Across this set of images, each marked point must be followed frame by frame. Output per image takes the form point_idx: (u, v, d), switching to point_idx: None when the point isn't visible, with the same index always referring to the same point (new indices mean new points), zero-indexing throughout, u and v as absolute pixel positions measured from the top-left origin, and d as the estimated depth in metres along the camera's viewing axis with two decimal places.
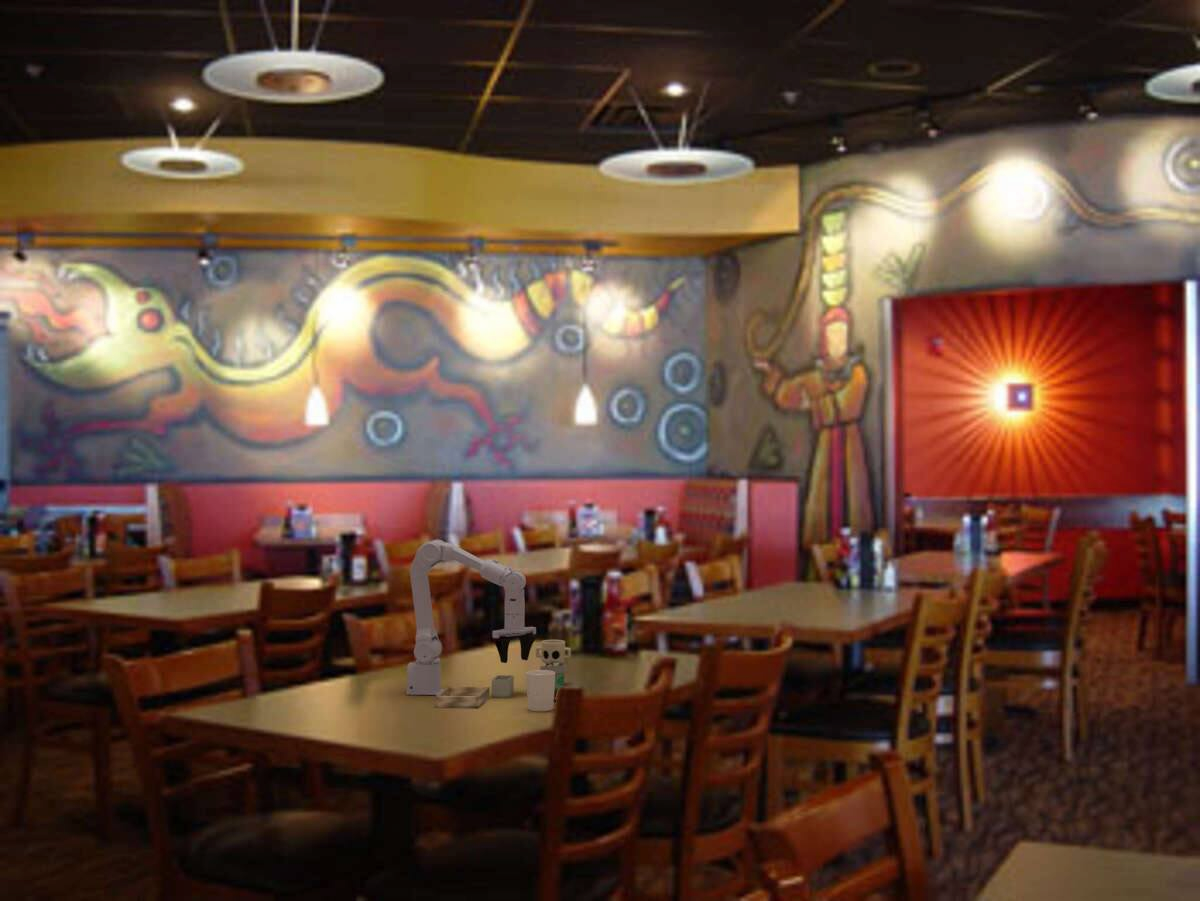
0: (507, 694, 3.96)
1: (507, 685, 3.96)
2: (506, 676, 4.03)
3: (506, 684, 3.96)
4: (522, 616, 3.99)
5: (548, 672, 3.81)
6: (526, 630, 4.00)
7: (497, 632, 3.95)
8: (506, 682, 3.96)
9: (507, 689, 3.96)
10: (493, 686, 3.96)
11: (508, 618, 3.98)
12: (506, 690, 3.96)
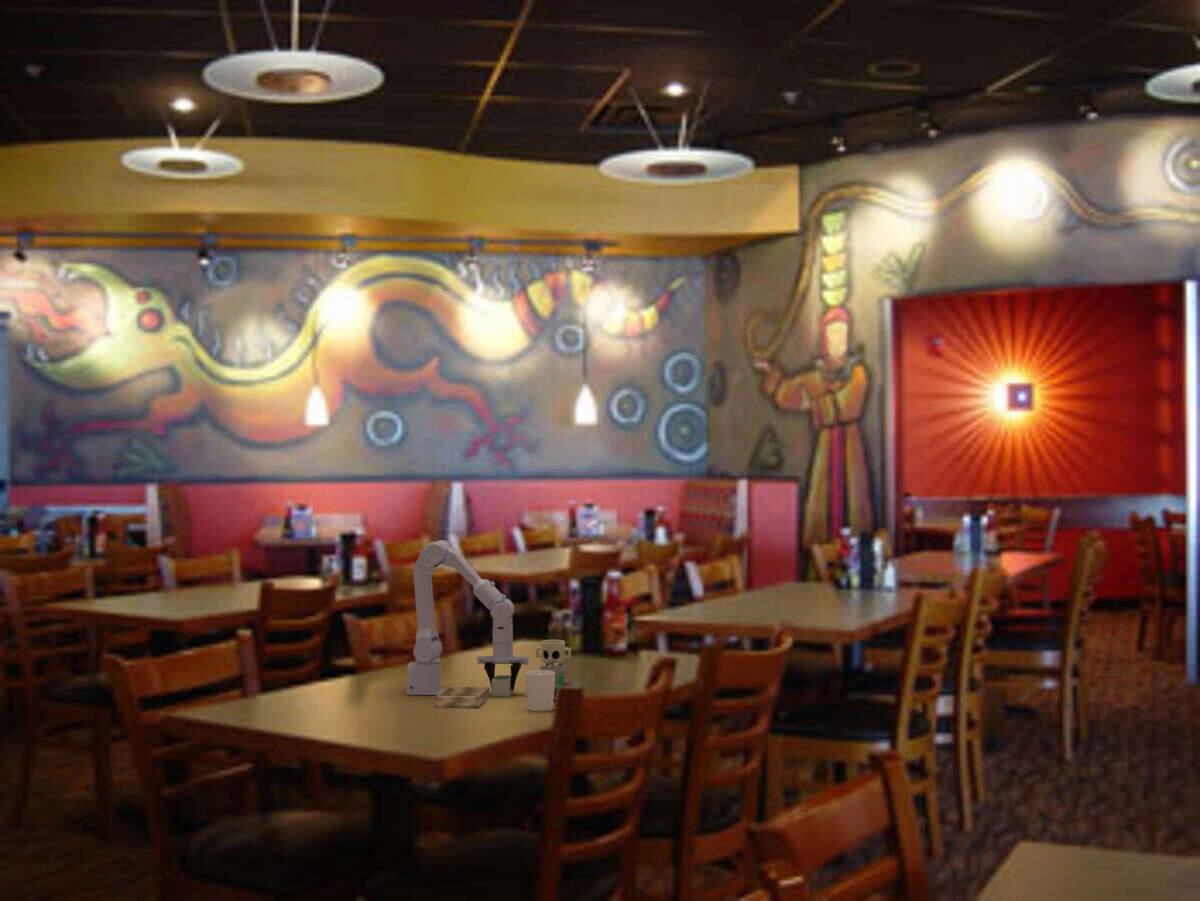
0: (507, 694, 3.96)
1: (507, 685, 3.96)
2: (506, 676, 4.03)
3: (506, 684, 3.96)
4: (503, 645, 3.97)
5: (548, 672, 3.81)
6: (510, 659, 3.97)
7: (478, 658, 4.00)
8: (506, 682, 3.96)
9: (507, 689, 3.96)
10: (493, 686, 3.96)
11: None
12: (506, 690, 3.96)
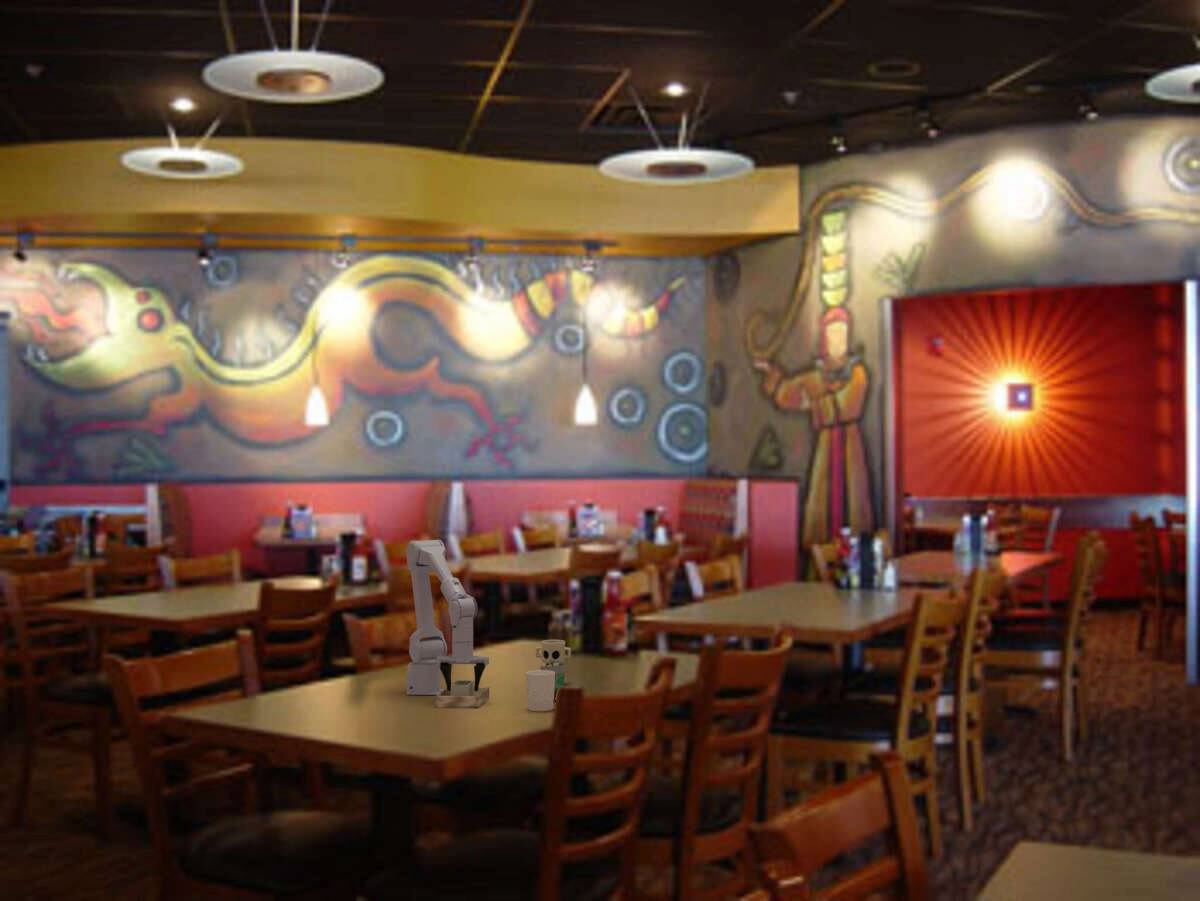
0: None
1: (467, 690, 3.84)
2: (466, 681, 3.91)
3: (466, 689, 3.84)
4: (463, 644, 3.85)
5: (548, 672, 3.81)
6: (470, 659, 3.85)
7: (437, 658, 3.88)
8: (466, 687, 3.84)
9: (467, 695, 3.84)
10: (452, 692, 3.84)
11: (452, 645, 3.87)
12: None
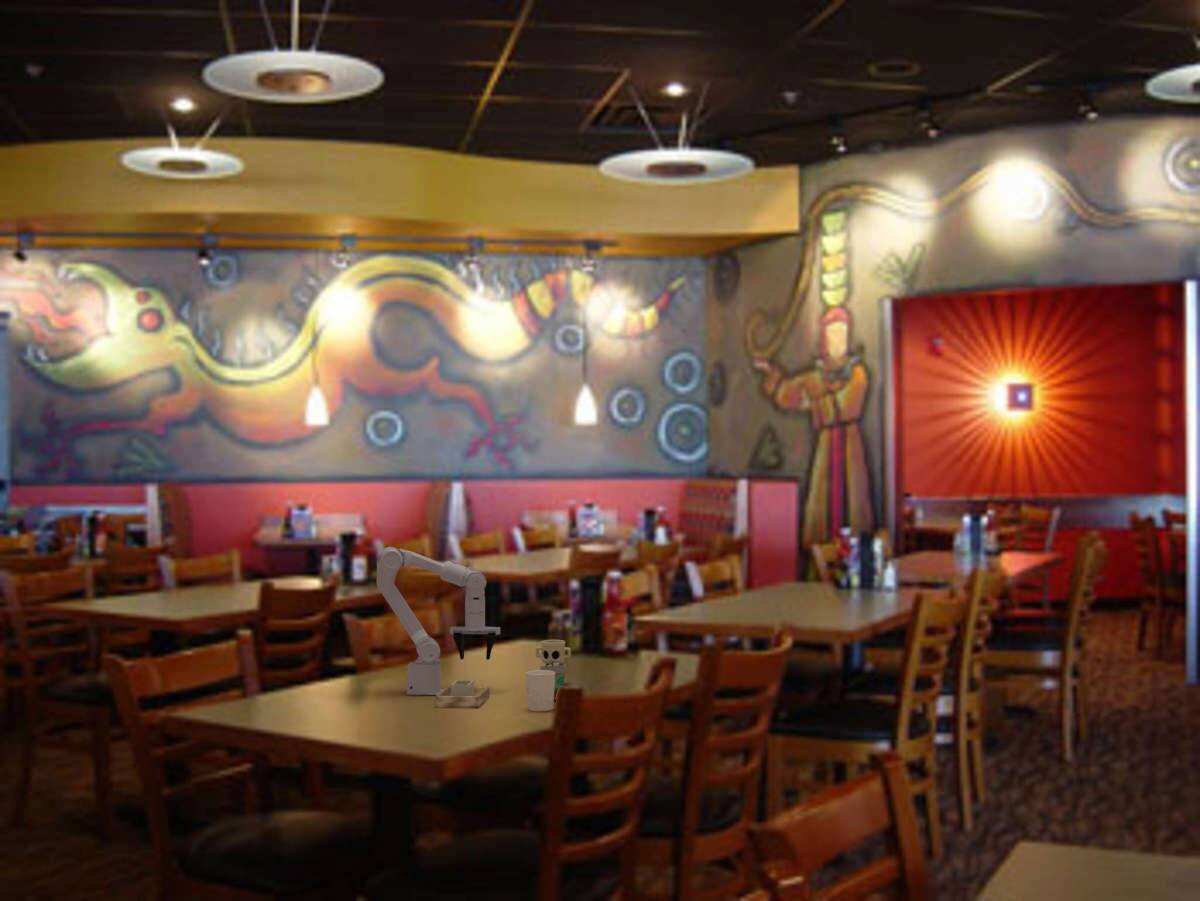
0: None
1: (467, 690, 3.84)
2: (466, 681, 3.91)
3: (466, 689, 3.84)
4: (475, 615, 4.03)
5: (548, 672, 3.81)
6: (482, 629, 4.03)
7: (450, 628, 4.05)
8: (466, 687, 3.84)
9: (467, 695, 3.84)
10: (452, 692, 3.84)
11: (465, 616, 4.05)
12: None
